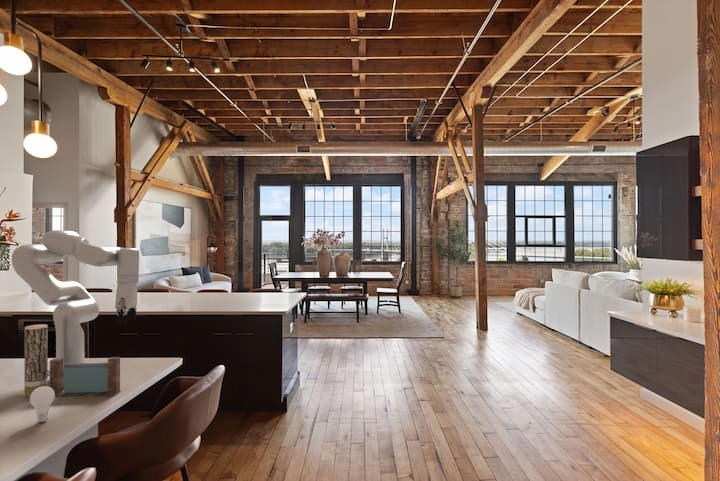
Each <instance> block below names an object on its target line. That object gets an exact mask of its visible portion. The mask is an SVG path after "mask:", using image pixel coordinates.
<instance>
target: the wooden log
mask: <svg viewBox="0 0 720 481" xmlns="http://www.w3.org/2000/svg"><path fill="white" fill-rule="evenodd" d="M48 328H49V327H48V324H43V323H41V324H40V323H39V324H31V325H27V326H26V325H25V327H24V375H23V376H24V382H23V383H24V396H25V398H29V399H30V395H31V393H32V392H33V391H34V390H35V389H36V388H38V387H41V386H48V383H49V381H48V377H49V376H48V370H49V369H48V368H49V366H48V363H49V362H48V358H49V357H48V355H49V354H48V352H49V351H48V349H49V348H48V347H49V346H48V342H49V340H48V339H49V338H48V332H49V330H48ZM48 387H49V386H48Z"/></svg>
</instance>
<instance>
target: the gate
mask: <svg viewBox="0 0 720 481" xmlns="http://www.w3.org/2000/svg"><path fill="white" fill-rule="evenodd" d="M63 377H64V383H63V392H64V393H81V392H108V362H84V363H67V364H65V365H64V370H63Z"/></svg>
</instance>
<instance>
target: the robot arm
mask: <svg viewBox="0 0 720 481" xmlns="http://www.w3.org/2000/svg"><path fill="white" fill-rule="evenodd" d="M68 256H69V257H72V258H74V259H75V260H76V261H78V262H80V263H82V264H85V265H89V266H93V267H97V268H98V267H114V266H117V269H116V270H117V273H116V274H117V275H116V276H117V277H116V284H117V286H116V292H115V304H114V307H115V309H116V326H118V327H122V326H127V321H128V322H135V321H136V320H137V304H138V284H139V283H140V282H139V278H140V277H139V276H140V250H139V249H138V248H134V247H121V246H96V245H92V244H90V243H89V241H88V239H87V238H86V237H83V236H81V235H80V234H79V233H77V232H76V231H73V230H49V231H47V232H45V233H44V234H43V236H42V237H41V243H30V244H29V243H28V244H23V245H20V246H18V247H16V248H15V249H14V250H13V252H12V255H11V265H12V267H13V268H12V269H13V270H14V272H15V273H16V274H17V276H19V277H20V278H21V280H23V281H24V282H25V283H26V284H27V285H28V286H29V287H30V288H31V290H32V291H33V292H35V294H36V295H37V296H38V297H39V299H41V301H43V302H44V304H46V305H47V306H51V307H52V306H56V307H55V308H54V309H53V314H52V317H53V319H52V320H53V323H54V326H55V327H54V328H55V336H56V337H55V343H56V344H55V350H56V352H55V358H63V370H64V365H65V364H67V363H85V331H84V329H83V328H82V325H81V324H83V323H86V322H90V321H93V320H95V319H96V318H97V317H98V316H99V314H100V305H99V304H98V303H97V301H96V299H95V298H93V296H92V295H91V294H90V293H89V292H88V291H87V290H86V288H85V287H84V286H83V285H81V284H80V283H79V282H77V281H74V280H64V281H61V280H58V279H57V278H56V277H55V276H54V275H53V274H52V272H51V271H49V270H48V269H45V268H44V267H42V266H41V265H51V264H55V263H58V262H60V261H62V260H63V259H64V258H67V257H68ZM48 377H50V369H48ZM63 383H64V377H63Z"/></svg>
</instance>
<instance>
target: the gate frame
mask: <svg viewBox="0 0 720 481" xmlns="http://www.w3.org/2000/svg"><path fill="white" fill-rule="evenodd" d="M107 363H108V392H81V393H64V391H63V358H56V357H54V358H53V359H50V360H49V370H50V376H49V387H51V388H52V389H53V390H54V392H55V398H66V397H67V398H69V397H71V398H72V397H73V398H74V397H77V398H78V397H100V396H101V397H102V396H105V397H107V396H116V395H118V394H119V393H121V392H122V391H121V356H111V357H109V358H107Z"/></svg>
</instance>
